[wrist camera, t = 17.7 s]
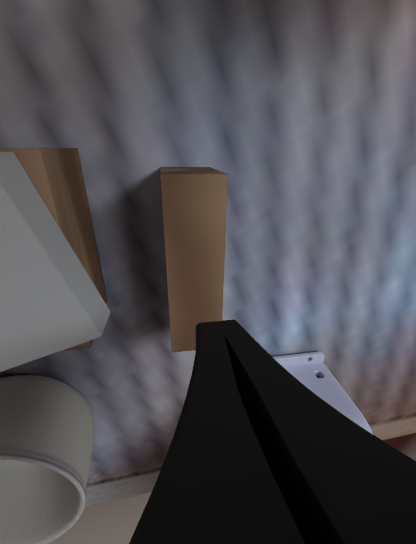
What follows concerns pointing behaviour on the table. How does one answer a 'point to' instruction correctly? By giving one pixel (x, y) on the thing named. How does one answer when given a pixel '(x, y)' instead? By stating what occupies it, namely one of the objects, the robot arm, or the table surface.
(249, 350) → the robot arm
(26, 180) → the slab
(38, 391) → the teacup
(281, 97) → the table surface
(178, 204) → the block
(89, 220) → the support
